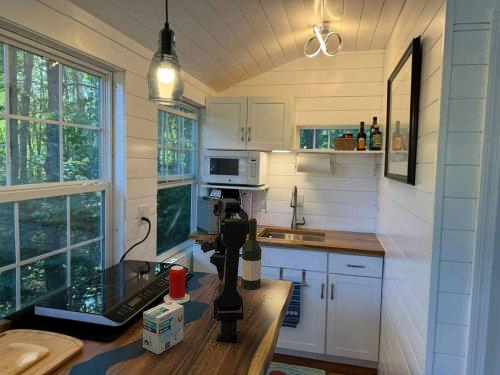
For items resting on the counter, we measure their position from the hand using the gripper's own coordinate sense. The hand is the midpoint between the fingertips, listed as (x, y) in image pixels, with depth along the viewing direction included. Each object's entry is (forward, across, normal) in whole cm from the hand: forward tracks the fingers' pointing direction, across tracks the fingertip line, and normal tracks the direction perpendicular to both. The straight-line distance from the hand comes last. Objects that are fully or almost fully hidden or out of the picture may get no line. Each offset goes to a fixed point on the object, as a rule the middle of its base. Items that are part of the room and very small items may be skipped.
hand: (224, 275), depth 128 cm
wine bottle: (+13, -26, +6) cm, 30 cm away
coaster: (+13, -6, -20) cm, 25 cm away
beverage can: (+13, -6, -20) cm, 24 cm away
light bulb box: (+13, +26, -12) cm, 32 cm away
